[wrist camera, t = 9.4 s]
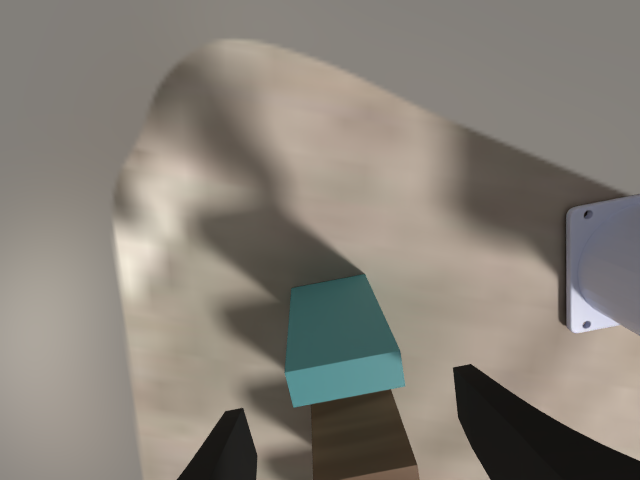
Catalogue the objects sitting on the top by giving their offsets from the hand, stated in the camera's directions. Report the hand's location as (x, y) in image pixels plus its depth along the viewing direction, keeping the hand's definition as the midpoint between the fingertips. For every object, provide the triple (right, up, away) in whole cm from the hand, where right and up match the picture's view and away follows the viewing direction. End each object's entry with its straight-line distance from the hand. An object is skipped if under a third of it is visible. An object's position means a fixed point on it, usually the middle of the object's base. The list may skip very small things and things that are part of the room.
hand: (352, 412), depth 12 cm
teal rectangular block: (0, +3, +9) cm, 10 cm away
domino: (+1, -3, +11) cm, 11 cm away
